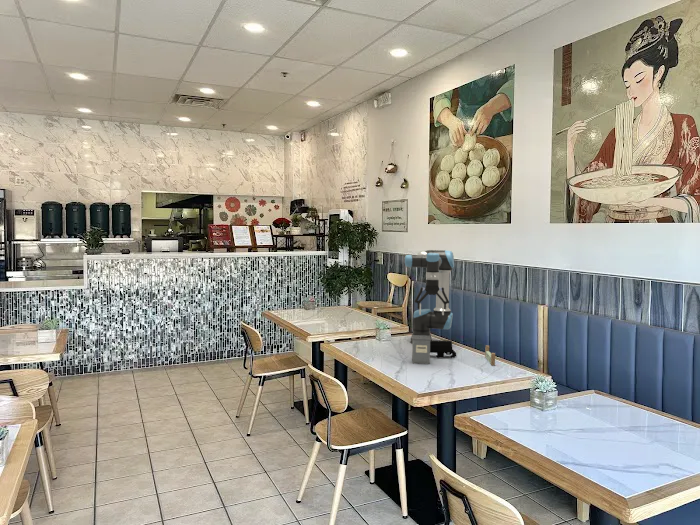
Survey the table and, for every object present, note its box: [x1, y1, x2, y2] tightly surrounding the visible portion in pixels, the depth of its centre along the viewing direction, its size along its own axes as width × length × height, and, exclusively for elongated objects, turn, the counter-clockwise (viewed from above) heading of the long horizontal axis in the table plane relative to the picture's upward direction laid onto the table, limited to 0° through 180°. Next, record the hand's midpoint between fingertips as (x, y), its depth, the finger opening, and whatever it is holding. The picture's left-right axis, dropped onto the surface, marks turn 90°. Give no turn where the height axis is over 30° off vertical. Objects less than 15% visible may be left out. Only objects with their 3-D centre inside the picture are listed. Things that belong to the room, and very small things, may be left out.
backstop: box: [484, 345, 496, 367], centre depth 317 cm, size 21×2×7 cm, turn 175°
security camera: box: [430, 339, 457, 359], centre depth 326 cm, size 7×18×10 cm, turn 89°
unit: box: [411, 334, 431, 365], centre depth 314 cm, size 11×11×15 cm
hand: (431, 314), depth 312 cm, fingers open, 13 cm apart
